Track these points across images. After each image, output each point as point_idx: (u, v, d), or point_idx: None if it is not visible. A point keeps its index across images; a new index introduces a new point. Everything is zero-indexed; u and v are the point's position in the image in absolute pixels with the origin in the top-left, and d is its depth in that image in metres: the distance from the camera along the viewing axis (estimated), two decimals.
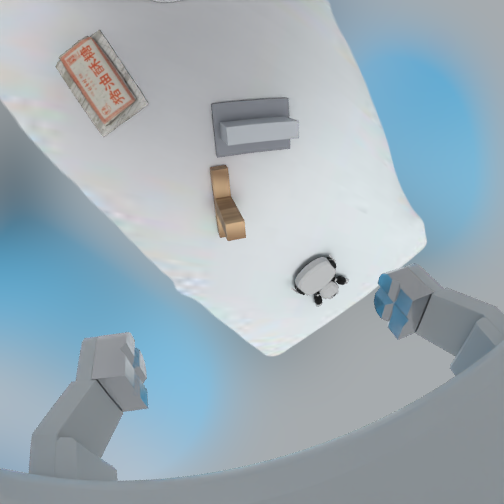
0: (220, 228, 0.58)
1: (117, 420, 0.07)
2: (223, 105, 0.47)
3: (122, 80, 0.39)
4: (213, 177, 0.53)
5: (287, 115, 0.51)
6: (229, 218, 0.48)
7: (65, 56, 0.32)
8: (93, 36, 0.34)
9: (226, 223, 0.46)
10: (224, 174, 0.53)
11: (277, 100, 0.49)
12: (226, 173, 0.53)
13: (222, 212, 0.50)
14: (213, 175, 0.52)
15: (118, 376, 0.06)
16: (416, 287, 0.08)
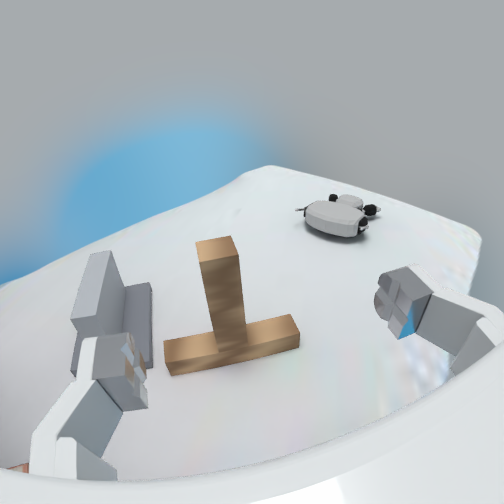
0: (280, 336, 0.30)
1: (117, 420, 0.07)
2: (75, 357, 0.29)
3: None
4: (177, 359, 0.28)
5: None
6: None
7: None
8: None
9: (199, 263, 0.22)
10: (174, 343, 0.29)
11: None
12: (172, 341, 0.29)
13: None
14: (173, 359, 0.28)
15: (118, 376, 0.06)
16: (416, 287, 0.08)
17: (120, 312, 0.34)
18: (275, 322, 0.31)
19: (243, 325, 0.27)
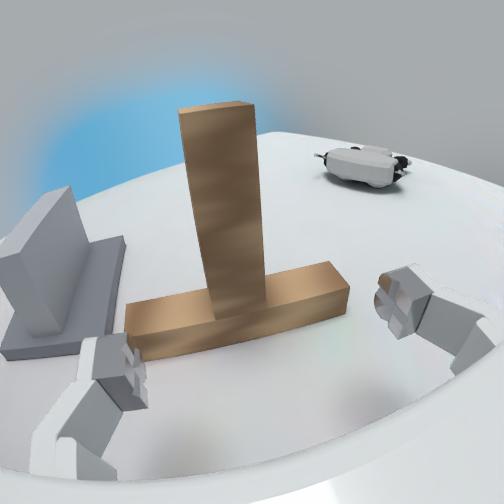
0: (319, 291, 0.18)
1: (117, 420, 0.07)
2: (9, 332, 0.17)
3: None
4: (144, 332, 0.16)
5: None
6: None
7: None
8: None
9: (180, 120, 0.11)
10: (141, 307, 0.18)
11: None
12: (139, 305, 0.18)
13: (193, 212, 0.13)
14: (138, 332, 0.16)
15: (118, 376, 0.06)
16: (416, 287, 0.08)
17: (75, 269, 0.22)
18: (308, 272, 0.19)
19: (260, 264, 0.15)
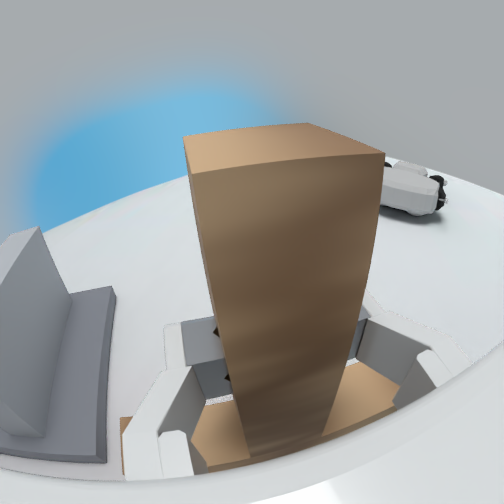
0: (387, 402, 0.11)
1: (201, 409, 0.07)
2: None
3: None
4: None
5: None
6: (202, 251, 0.05)
7: None
8: None
9: (194, 189, 0.04)
10: None
11: None
12: None
13: (227, 365, 0.06)
14: None
15: (217, 359, 0.07)
16: None
17: (52, 342, 0.15)
18: (370, 370, 0.13)
19: (326, 406, 0.08)
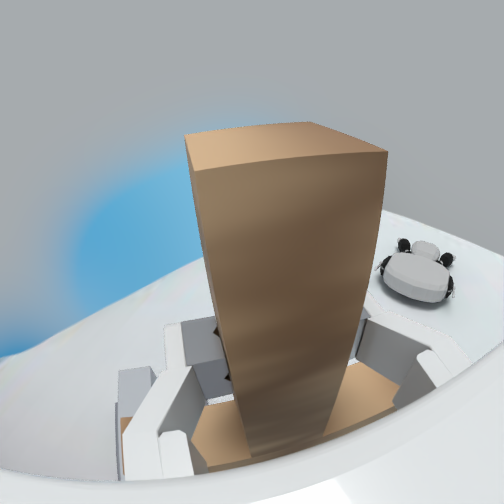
0: (388, 402, 0.11)
1: (201, 409, 0.07)
2: None
3: None
4: None
5: None
6: (204, 249, 0.05)
7: None
8: None
9: (196, 186, 0.04)
10: None
11: (118, 418, 0.25)
12: None
13: (228, 365, 0.06)
14: None
15: (217, 359, 0.07)
16: None
17: None
18: (371, 370, 0.13)
19: (328, 406, 0.08)
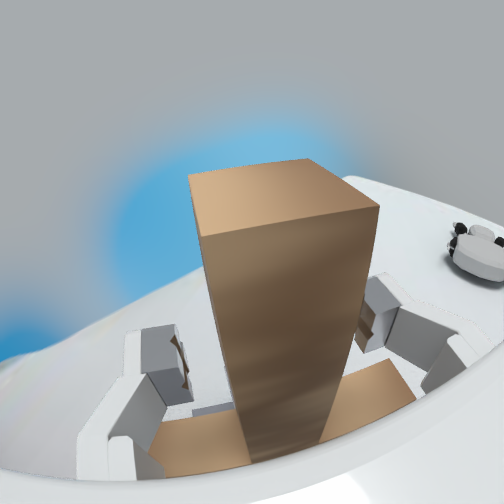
0: (381, 411, 0.12)
1: (162, 415, 0.07)
2: None
3: None
4: None
5: (232, 405, 0.22)
6: (209, 290, 0.06)
7: None
8: None
9: (203, 246, 0.05)
10: None
11: None
12: None
13: (231, 386, 0.07)
14: None
15: (171, 368, 0.06)
16: (382, 299, 0.08)
17: None
18: (365, 380, 0.13)
19: (323, 417, 0.09)
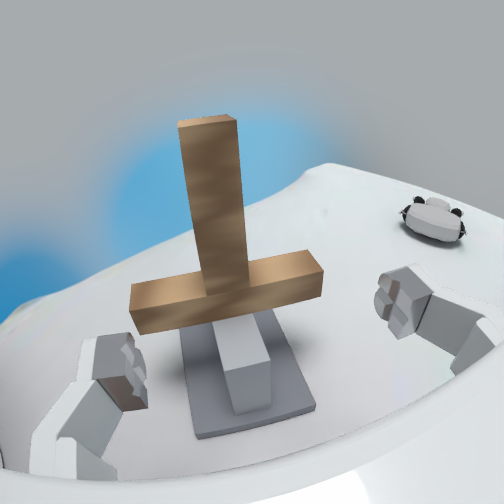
0: (296, 274, 0.21)
1: (117, 420, 0.07)
2: (196, 413, 0.21)
3: None
4: (147, 306, 0.19)
5: None
6: None
7: None
8: None
9: None
10: (145, 287, 0.21)
11: (182, 329, 0.29)
12: (143, 285, 0.21)
13: None
14: (141, 306, 0.19)
15: (118, 376, 0.06)
16: (416, 287, 0.08)
17: None
18: (288, 259, 0.23)
19: (243, 248, 0.18)
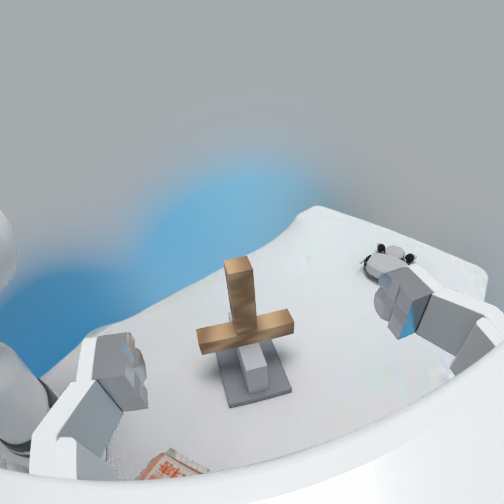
0: (280, 324, 0.42)
1: (117, 420, 0.07)
2: (229, 393, 0.42)
3: None
4: (207, 341, 0.40)
5: None
6: (228, 281, 0.36)
7: (143, 478, 0.28)
8: None
9: (228, 275, 0.35)
10: (204, 330, 0.42)
11: None
12: (202, 329, 0.42)
13: (231, 300, 0.37)
14: (205, 341, 0.40)
15: (118, 376, 0.06)
16: (416, 287, 0.08)
17: None
18: (276, 314, 0.44)
19: (254, 316, 0.40)
